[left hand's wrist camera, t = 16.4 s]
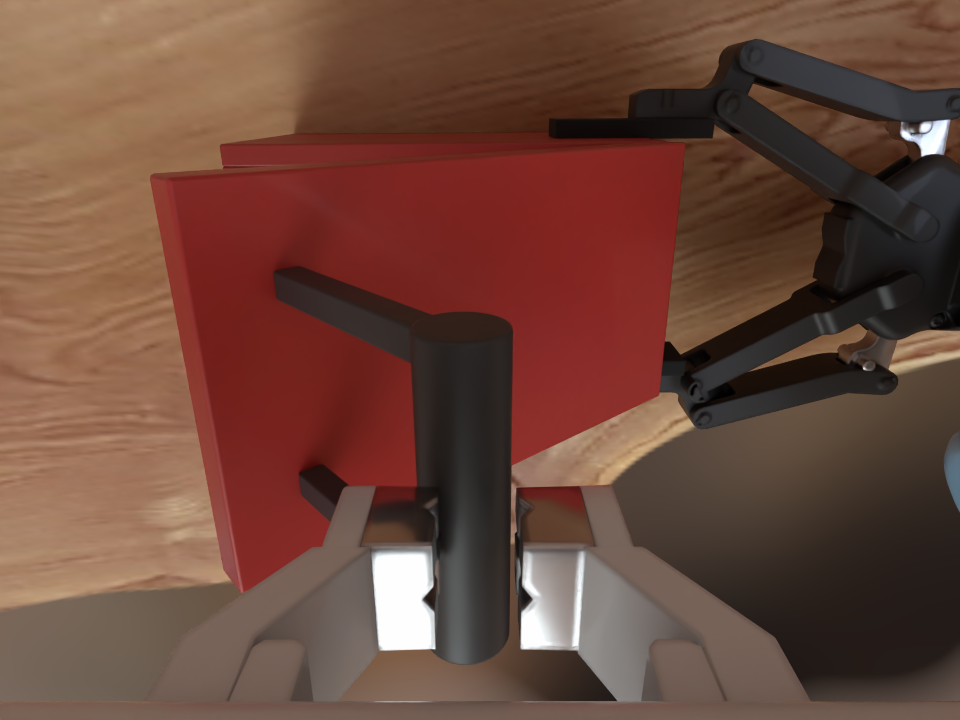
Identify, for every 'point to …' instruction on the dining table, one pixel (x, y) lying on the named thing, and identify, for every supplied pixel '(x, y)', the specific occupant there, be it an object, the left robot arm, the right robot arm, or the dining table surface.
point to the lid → (413, 339)
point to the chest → (390, 146)
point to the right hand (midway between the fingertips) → (547, 251)
